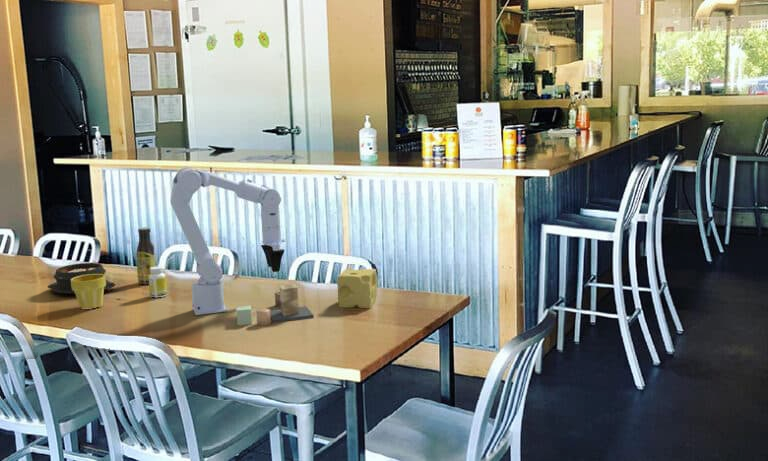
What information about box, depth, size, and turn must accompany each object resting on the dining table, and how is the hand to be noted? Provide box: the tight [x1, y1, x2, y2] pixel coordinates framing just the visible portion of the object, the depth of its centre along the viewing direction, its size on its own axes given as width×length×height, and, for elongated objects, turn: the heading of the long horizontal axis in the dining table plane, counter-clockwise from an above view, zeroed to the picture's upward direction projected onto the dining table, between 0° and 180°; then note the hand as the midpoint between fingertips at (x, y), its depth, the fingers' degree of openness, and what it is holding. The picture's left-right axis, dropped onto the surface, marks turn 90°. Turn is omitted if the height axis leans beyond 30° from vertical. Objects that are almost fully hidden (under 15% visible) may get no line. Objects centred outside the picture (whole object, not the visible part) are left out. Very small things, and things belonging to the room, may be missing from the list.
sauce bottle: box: [135, 226, 156, 285], centre depth 278 cm, size 7×6×20 cm
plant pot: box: [71, 274, 107, 309], centre depth 250 cm, size 10×10×10 cm
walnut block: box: [274, 291, 281, 309], centre depth 244 cm, size 4×4×4 cm
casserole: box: [47, 262, 116, 295], centre depth 272 cm, size 25×19×8 cm
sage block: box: [236, 305, 253, 326], centre depth 228 cm, size 4×4×4 cm
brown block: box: [255, 308, 272, 327], centre depth 226 cm, size 4×4×4 cm
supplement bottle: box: [148, 265, 168, 298], centre depth 260 cm, size 5×5×10 cm
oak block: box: [279, 283, 300, 316], centre depth 233 cm, size 4×4×8 cm
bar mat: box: [270, 305, 314, 324], centre depth 233 cm, size 12×10×1 cm
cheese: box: [336, 268, 378, 309], centre depth 243 cm, size 10×11×10 cm
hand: (273, 269), depth 248 cm, fingers open, 7 cm apart
